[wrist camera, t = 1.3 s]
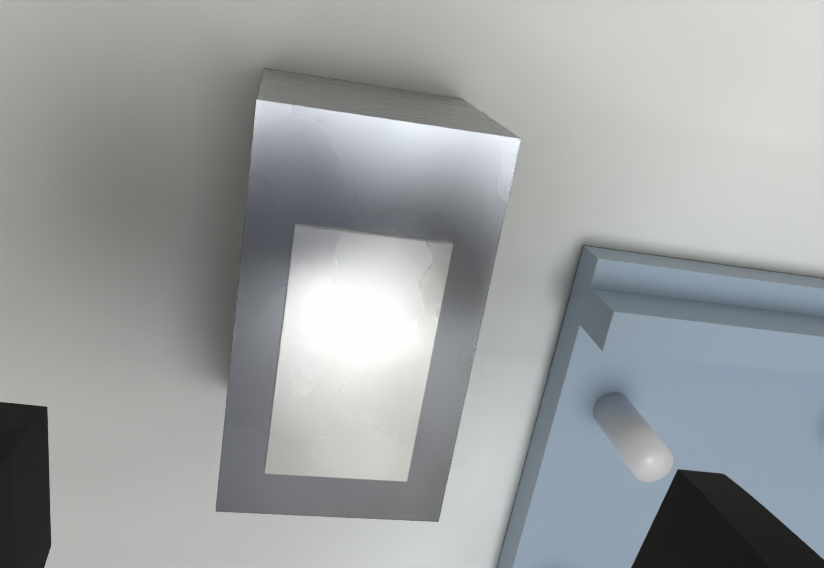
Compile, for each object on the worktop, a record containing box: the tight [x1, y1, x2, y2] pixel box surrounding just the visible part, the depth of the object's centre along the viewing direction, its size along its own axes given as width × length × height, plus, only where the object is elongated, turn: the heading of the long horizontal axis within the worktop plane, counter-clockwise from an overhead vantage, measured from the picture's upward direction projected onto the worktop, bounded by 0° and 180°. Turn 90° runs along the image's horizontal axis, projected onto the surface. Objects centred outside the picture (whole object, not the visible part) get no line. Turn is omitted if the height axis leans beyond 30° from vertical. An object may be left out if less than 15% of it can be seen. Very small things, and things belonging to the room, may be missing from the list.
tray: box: [497, 246, 824, 568], centre depth 21 cm, size 14×10×4 cm
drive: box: [216, 68, 521, 522], centre depth 17 cm, size 8×4×5 cm, turn 170°
